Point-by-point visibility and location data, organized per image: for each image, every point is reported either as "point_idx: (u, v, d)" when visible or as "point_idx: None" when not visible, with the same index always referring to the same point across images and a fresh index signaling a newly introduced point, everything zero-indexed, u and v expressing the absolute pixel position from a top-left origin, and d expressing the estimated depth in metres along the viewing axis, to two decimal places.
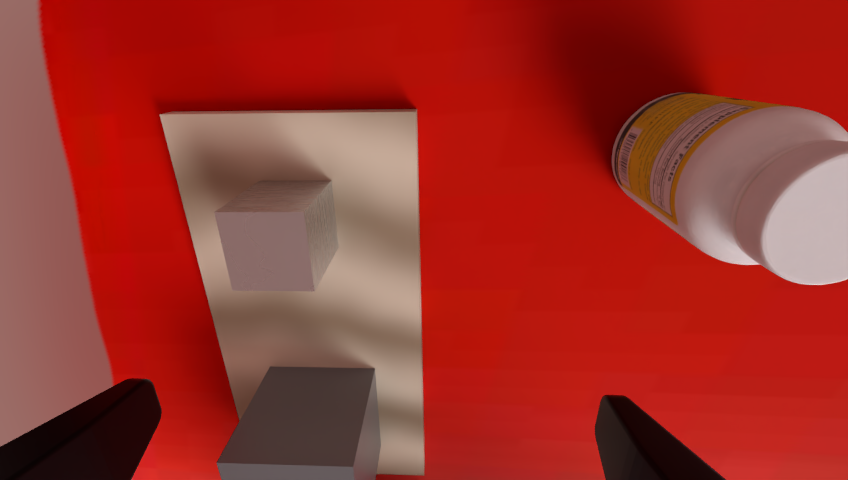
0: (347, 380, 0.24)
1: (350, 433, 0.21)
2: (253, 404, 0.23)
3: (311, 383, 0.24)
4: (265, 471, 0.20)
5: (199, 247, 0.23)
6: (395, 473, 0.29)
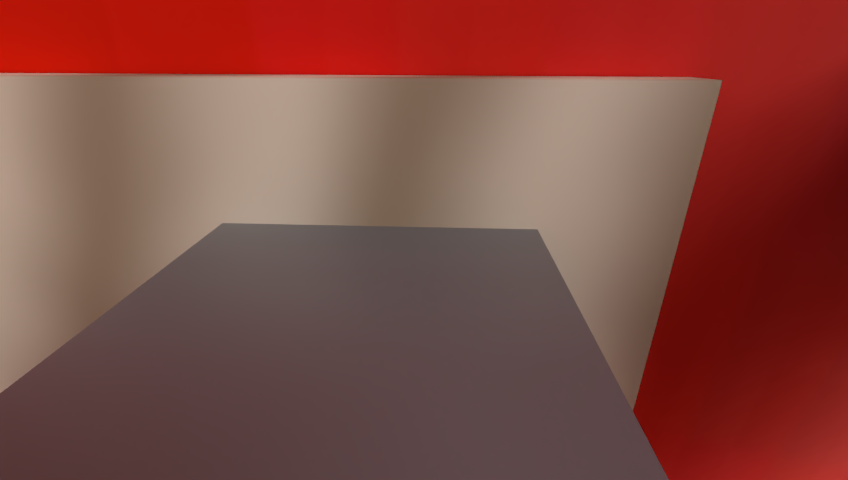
0: None
1: None
2: None
3: None
4: None
5: None
6: (686, 191, 0.08)
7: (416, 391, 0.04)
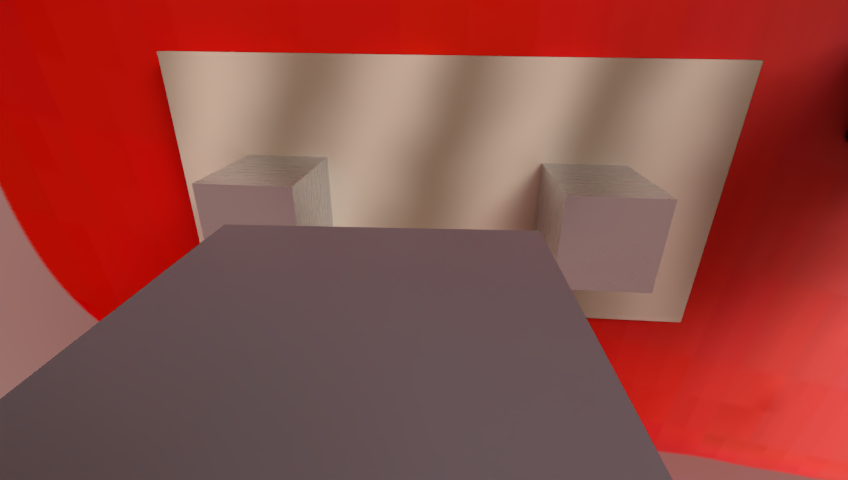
0: None
1: None
2: None
3: None
4: None
5: None
6: (743, 113, 0.17)
7: (420, 394, 0.04)
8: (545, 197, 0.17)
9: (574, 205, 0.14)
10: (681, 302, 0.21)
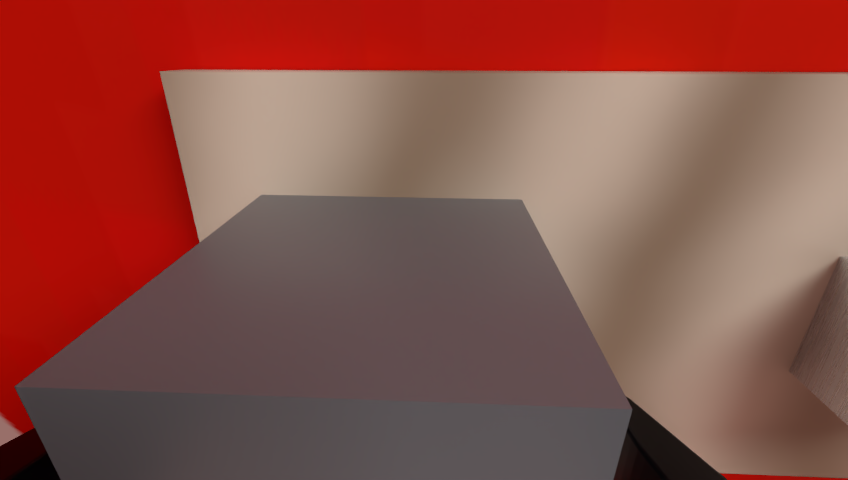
0: None
1: None
2: None
3: None
4: None
5: None
6: None
7: (426, 294, 0.06)
8: None
9: None
10: None
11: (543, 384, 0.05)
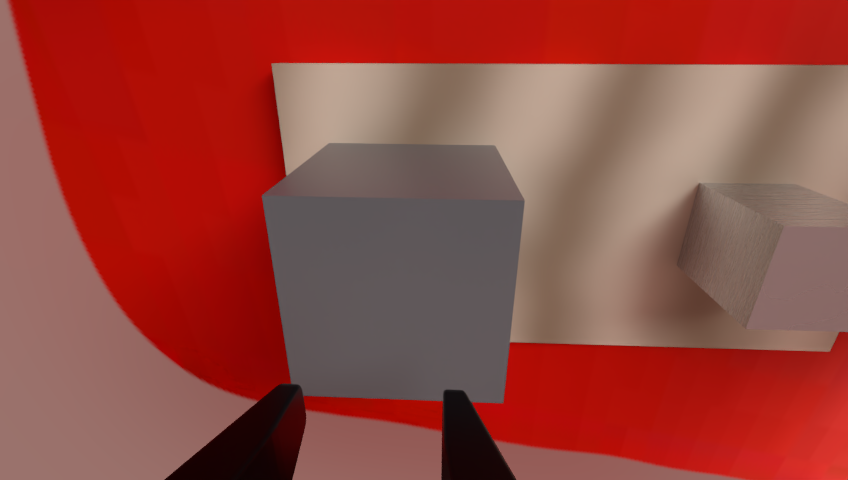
0: None
1: None
2: None
3: None
4: (300, 335, 0.12)
5: None
6: None
7: (437, 176, 0.12)
8: (714, 222, 0.15)
9: (791, 236, 0.12)
10: None
11: (489, 195, 0.10)
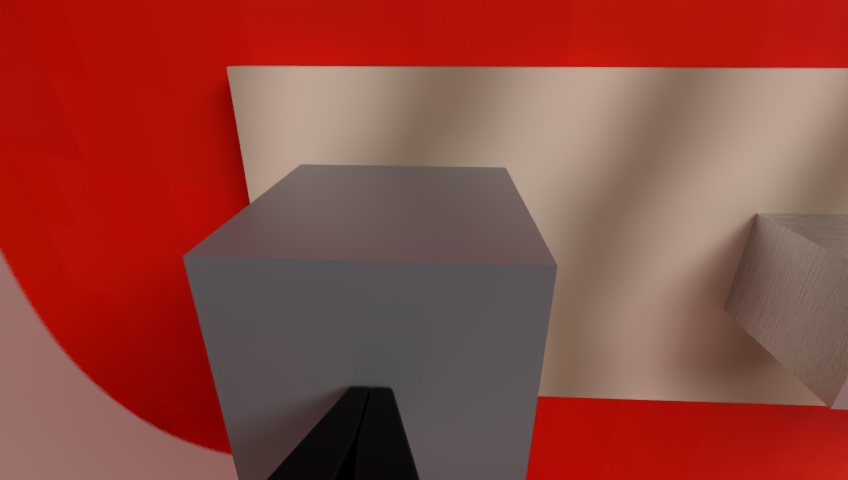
0: None
1: None
2: None
3: None
4: (249, 433, 0.09)
5: None
6: None
7: (432, 218, 0.09)
8: (780, 264, 0.12)
9: None
10: None
11: (506, 256, 0.07)
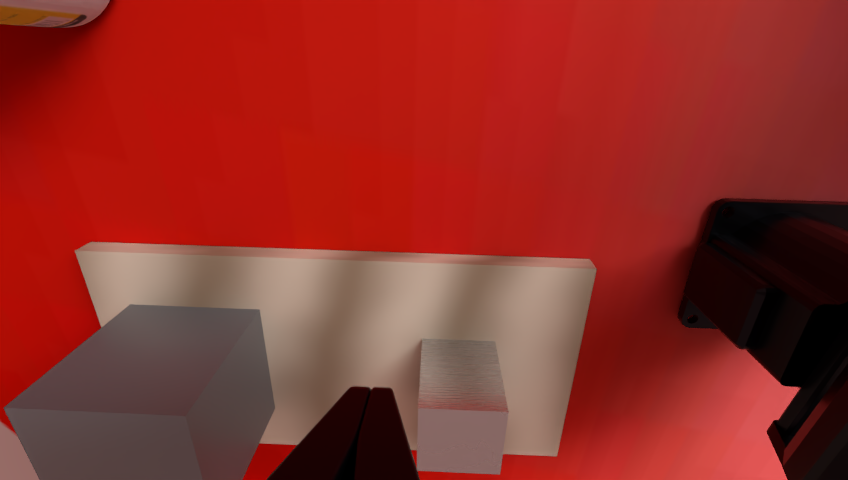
0: None
1: None
2: None
3: None
4: None
5: None
6: (586, 305, 0.20)
7: (160, 371, 0.17)
8: None
9: (425, 414, 0.17)
10: (555, 441, 0.24)
11: (167, 408, 0.15)
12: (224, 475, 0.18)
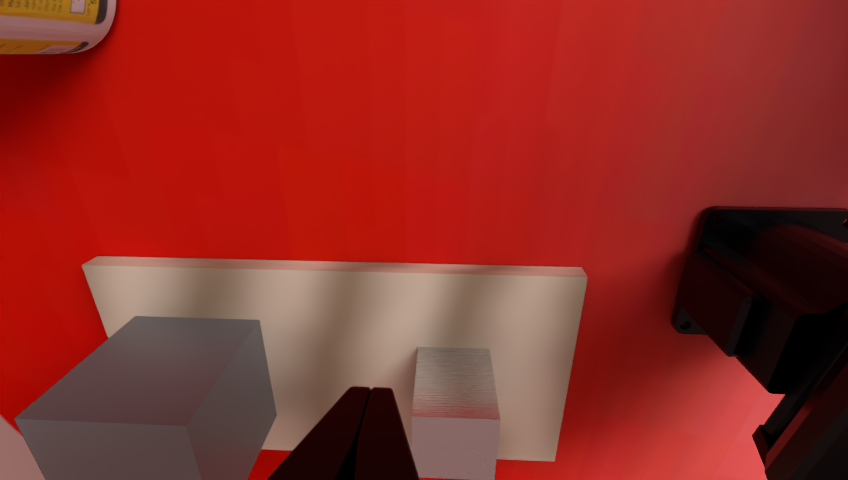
0: None
1: None
2: None
3: None
4: None
5: None
6: (579, 313, 0.20)
7: (163, 382, 0.17)
8: None
9: (419, 422, 0.17)
10: (552, 447, 0.24)
11: (168, 418, 0.15)
12: None
